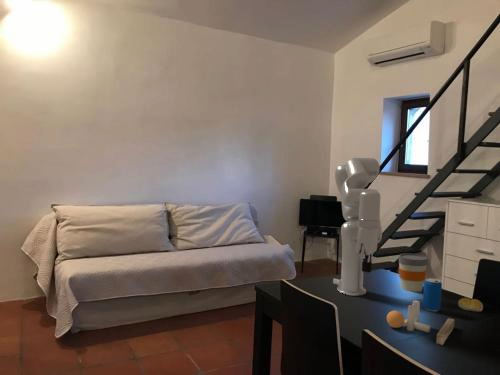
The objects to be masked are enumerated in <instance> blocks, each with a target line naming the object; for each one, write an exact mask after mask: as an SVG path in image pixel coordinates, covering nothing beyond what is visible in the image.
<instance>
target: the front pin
mask: <svg viewBox="0 0 500 375" xmlns="http://www.w3.org/2000/svg"><path fill="white" fill-rule="evenodd" d="M403 326H404V327H407V318H406V319H405V318H404V324H403ZM414 330H418V331H421V332H425V333H430V332H431V325H428V324H425V323H422V322H419V323H418V322H414Z"/></svg>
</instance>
